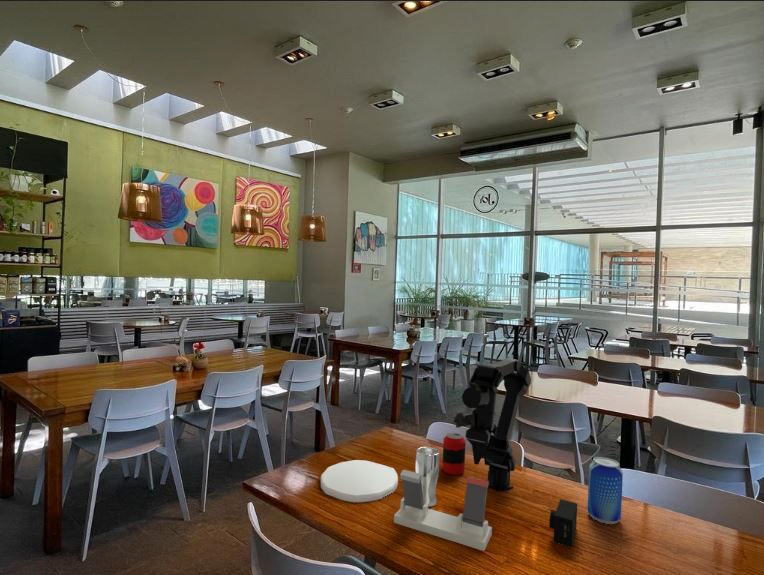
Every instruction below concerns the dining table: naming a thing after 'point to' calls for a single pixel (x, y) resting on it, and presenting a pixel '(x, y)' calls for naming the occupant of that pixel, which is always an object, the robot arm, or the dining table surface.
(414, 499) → the grey lever
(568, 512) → the digital camera
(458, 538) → the switch console
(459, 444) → the soda can
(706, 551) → the dining table surface
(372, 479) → the white flat disc
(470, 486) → the red-capped switch paddle
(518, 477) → the dining table surface
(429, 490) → the beer glass
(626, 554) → the dining table surface
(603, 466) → the beer can
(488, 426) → the robot arm
